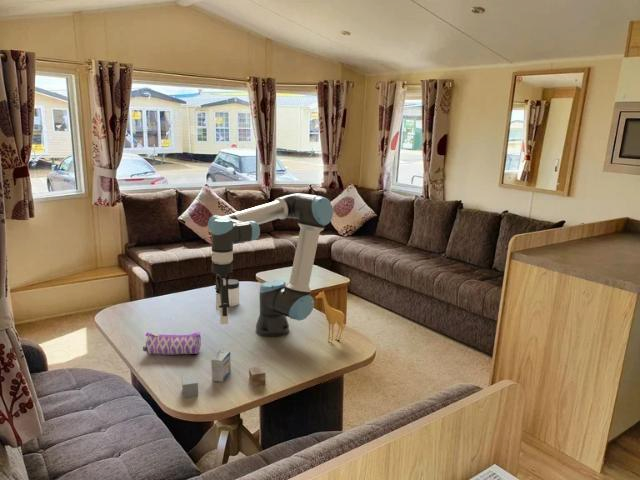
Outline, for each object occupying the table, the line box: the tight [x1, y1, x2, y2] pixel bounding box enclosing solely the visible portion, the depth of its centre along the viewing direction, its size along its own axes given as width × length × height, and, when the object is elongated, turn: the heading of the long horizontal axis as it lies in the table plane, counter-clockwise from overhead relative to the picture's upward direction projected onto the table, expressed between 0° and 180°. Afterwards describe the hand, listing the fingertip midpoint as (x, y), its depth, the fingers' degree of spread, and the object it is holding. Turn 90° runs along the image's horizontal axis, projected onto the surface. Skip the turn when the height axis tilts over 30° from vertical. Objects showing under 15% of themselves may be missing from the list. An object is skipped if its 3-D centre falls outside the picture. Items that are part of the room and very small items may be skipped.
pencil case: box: [142, 331, 202, 356], centre depth 194 cm, size 22×9×10 cm, turn 95°
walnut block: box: [248, 365, 267, 388], centre depth 175 cm, size 5×5×5 cm
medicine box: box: [210, 350, 232, 383], centre depth 178 cm, size 8×4×9 cm, turn 168°
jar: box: [228, 278, 240, 307], centre depth 247 cm, size 9×8×12 cm
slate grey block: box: [181, 375, 199, 398], centre depth 167 cm, size 5×5×5 cm
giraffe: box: [314, 290, 346, 341], centre depth 205 cm, size 16×4×25 cm, turn 125°
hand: (221, 316), depth 177 cm, fingers open, 13 cm apart
